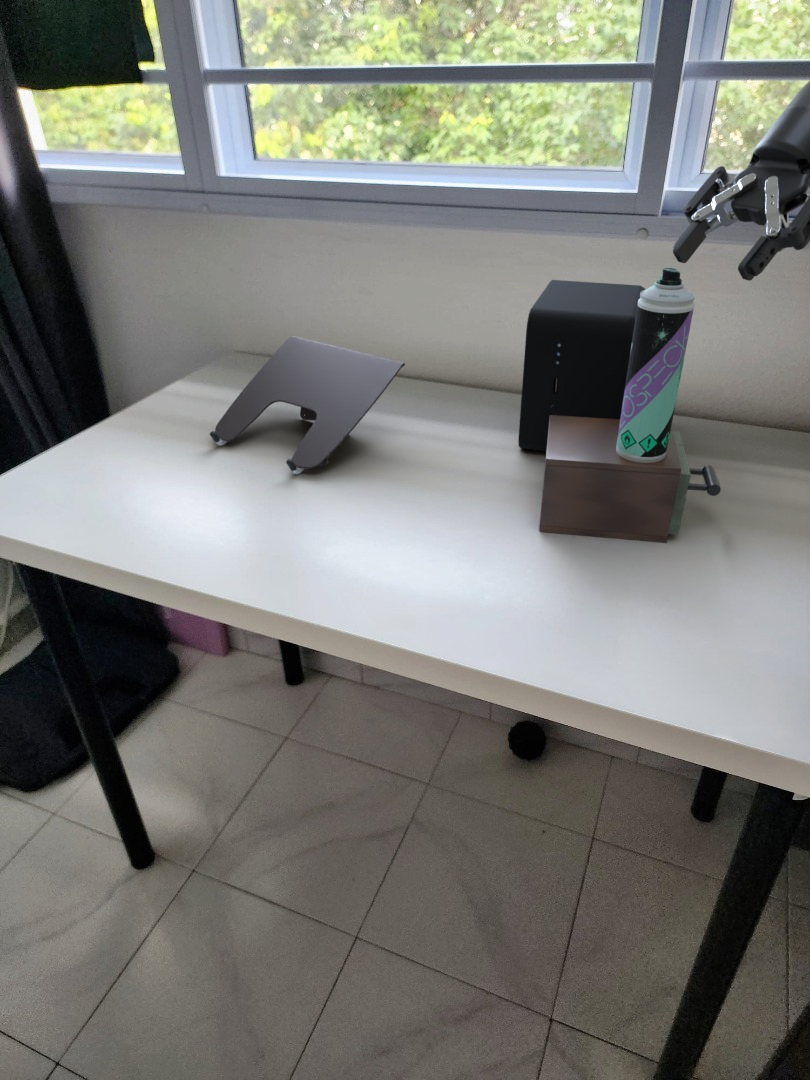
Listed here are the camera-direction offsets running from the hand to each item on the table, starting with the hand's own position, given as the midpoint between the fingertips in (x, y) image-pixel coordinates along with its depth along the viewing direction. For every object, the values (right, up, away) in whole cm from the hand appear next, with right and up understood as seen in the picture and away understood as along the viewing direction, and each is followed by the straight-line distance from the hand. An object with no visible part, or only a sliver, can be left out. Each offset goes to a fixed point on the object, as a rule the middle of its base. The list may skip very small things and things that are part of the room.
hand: (709, 266), depth 77 cm
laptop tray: (-47, -13, +36) cm, 60 cm away
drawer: (-3, -24, +15) cm, 28 cm away
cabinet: (-7, -25, +16) cm, 30 cm away
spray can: (-5, -18, +8) cm, 21 cm away
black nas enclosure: (-5, -12, +36) cm, 38 cm away
